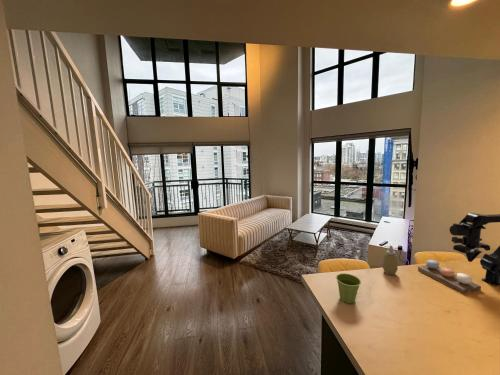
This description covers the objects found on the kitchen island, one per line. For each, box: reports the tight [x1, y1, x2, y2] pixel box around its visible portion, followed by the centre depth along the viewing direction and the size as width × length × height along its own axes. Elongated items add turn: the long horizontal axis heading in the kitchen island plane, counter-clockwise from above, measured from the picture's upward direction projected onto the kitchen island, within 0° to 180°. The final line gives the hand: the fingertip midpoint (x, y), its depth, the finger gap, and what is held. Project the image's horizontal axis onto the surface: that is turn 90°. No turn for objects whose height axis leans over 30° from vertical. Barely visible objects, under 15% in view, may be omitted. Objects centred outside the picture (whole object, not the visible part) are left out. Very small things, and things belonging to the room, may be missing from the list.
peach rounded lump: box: [440, 267, 455, 278], centre depth 126 cm, size 6×6×6 cm
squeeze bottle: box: [382, 245, 399, 276], centre depth 134 cm, size 8×8×18 cm
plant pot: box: [335, 272, 362, 304], centre depth 110 cm, size 12×12×11 cm
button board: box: [417, 265, 482, 294], centre depth 126 cm, size 12×25×2 cm, turn 11°
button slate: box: [425, 259, 440, 270], centre depth 134 cm, size 6×6×6 cm
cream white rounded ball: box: [456, 272, 473, 285], centre depth 117 cm, size 6×6×6 cm
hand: (469, 261), depth 122 cm, fingers closed
